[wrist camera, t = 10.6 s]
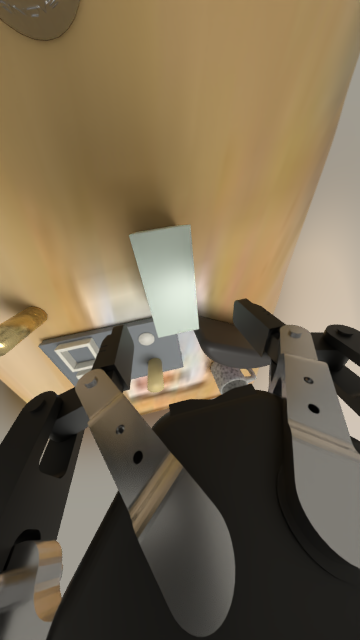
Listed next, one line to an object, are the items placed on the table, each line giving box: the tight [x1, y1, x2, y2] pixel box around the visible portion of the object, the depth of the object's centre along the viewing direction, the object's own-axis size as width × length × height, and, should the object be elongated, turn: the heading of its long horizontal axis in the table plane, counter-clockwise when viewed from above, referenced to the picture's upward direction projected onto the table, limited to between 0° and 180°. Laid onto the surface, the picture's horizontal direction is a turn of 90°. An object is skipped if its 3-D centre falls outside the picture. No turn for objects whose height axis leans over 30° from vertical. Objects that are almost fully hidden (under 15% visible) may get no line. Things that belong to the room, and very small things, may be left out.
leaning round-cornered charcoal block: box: [194, 316, 271, 369], centre depth 29 cm, size 16×5×9 cm, turn 70°
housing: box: [129, 225, 199, 338], centre depth 20 cm, size 12×6×9 cm, turn 8°
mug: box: [210, 361, 256, 394], centre depth 37 cm, size 10×7×7 cm, turn 93°
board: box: [39, 318, 183, 392], centre depth 28 cm, size 14×24×8 cm, turn 98°
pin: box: [0, 307, 47, 356], centre depth 21 cm, size 3×3×8 cm
